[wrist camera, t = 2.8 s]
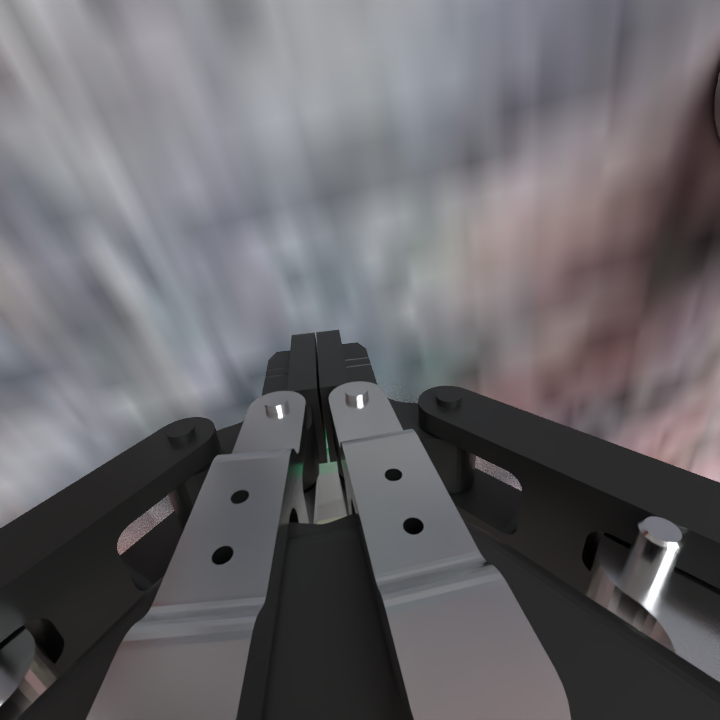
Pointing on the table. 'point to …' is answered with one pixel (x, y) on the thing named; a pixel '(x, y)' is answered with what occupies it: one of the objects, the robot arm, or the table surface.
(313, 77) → the table surface
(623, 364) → the table surface
